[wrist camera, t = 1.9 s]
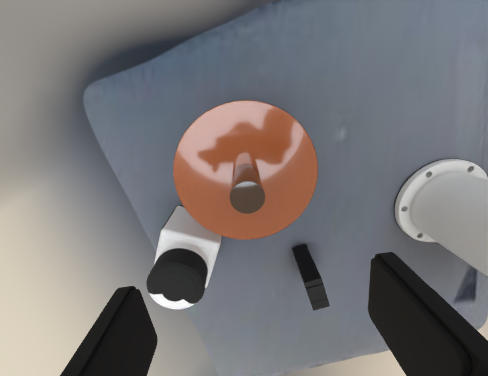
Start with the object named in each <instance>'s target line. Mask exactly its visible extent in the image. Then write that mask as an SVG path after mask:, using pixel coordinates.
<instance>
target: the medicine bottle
mask: <svg viewBox="0 0 488 376" xmlns="http://www.w3.org/2000/svg"><path fill="white" fill-rule="evenodd" d="M221 237H222V236H221V235H219V234H216V233H214V232H212V231H210V230H208V229H206V228H205V227H203V226H202V225H201V224H199V223H198V222H197V221H196V220H195V219H194V218H193V217H192V216H191V215H190V214H189V213H188V212H187V210H186V209H185V207H182V206H176V208H175V209H174V211H173V212H172V214H171V216H170V217H169V219H168V220H167V222H166V223H165V225H164V227H163V228H162V230H161V234H160V238H159V243H158V248H157V253H156V258H155V262H154V266H153V268H152V270H151V272H150V274H149V276H148V278H147V289H148V292H149V293H150V295H151V297H152V298H153V299H154V300H155V301H156V302H157V303H158V304H160V305H162V306H164V307H167V308H170V309H184V308H188V307H190V306H192V305H194V304H196V303H197V302H198V301H199V300H200V299H201V298H202V296H203V294H204V290H205V288H206V287H207V286H208V283H209V280H210V276H211V273H212V270H213V267H214V264H215V260H216V257H217V254H218V251H219V248H220V243H221Z"/></svg>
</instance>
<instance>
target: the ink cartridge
mask: <svg viewBox="0 0 488 376" xmlns="http://www.w3.org/2000/svg"><path fill="white" fill-rule="evenodd" d="M292 250H293V253H294V256H295V259H296V262H297V265H298V268H299V271H300V274H301V277H302V279H303V282H304V285H305V288H306V291H307V294H308V296H309V299H310V302H311V305H312V308H313V310H317V309H321V308H324V307H328V306H329V302H328V299H327V295H326V292H325V288H324V285H323V282H322V279H321V276H320V274H319V272H318V270H317V268H316V266H315V263H314V261H313V259H312V257H311V255H310V253H309V250H308V247H307V244H305V245H301V246H298V247H295V248H292Z"/></svg>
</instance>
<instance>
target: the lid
mask: <svg viewBox="0 0 488 376" xmlns="http://www.w3.org/2000/svg"><path fill="white" fill-rule="evenodd" d="M173 173H174V182H175V187H176V190H177V193H178V196H179V198H180V200H181V202H182V204H183V206H184V207H185V209H186V210H187V212H188V213H189V214H190V215H191V216H192V217H193V218H194V219H195V220H196V221H197V222H198V223H199V224H201V225H202V226H203V227H205V228H206V229H208V230H210V231H212V232H214V233H216V234H219V235H221V236H225V237H228V238H234V239H257V238H262V237H266V236H269V235H272V234H274V233H277V232H279V231H281V230H282V229H284V228H286V227H287V226H289V225H290V224H291V223H293V222H294V221H295V220H296V219H297V218H298V217H299V216H300V215H301V214H302V212H303V211H304V210H305V208H306V207H307V205H308V204H309V202H310V200H311V198H312V196H313V193H314V190H315V187H316V183H317V177H318V163H317V156H316V152H315V148H314V146H313V143H312V141H311V139H310V137H309V135H308V134H307V132H306V131H305V129H304V128H303V127H302V125H301V124H300V123H299V122H298V121H297V120H296V119H295V118H294V117H292V116H291V115H290V114H288V113H287V112H286V111H284V110H282V109H280V108H278V107H276V106H273V105H271V104H268V103H264V102H259V101H250V100H242V101H233V102H228V103H224V104H222V105H219V106H216V107H214V108H212V109H210V110H208V111H207V112H205V113H204V114H202V115H201V116H200V117H198V118H197V119H196V120H195V121H194V122H193V123H192V124H191V125H190V126H189V128H188V129H187V130H186V132H185V133H184V135H183V137H182V138H181V140H180V142H179V145H178V147H177V150H176V154H175V158H174V166H173Z"/></svg>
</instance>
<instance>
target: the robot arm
mask: <svg viewBox="0 0 488 376" xmlns="http://www.w3.org/2000/svg"><path fill="white" fill-rule="evenodd" d="M395 217H396V221H397V223H398V225H399V226H400V228H401V229H402V230H403V231H404V232H405V233H406V234H408V235H409V236H410V237H412V238H414V239H416V240H419V241H424V242H438V243H439V244H441V245H442V246H444V247H445V248H446V249H448V250H449V251H451V252H452V253H454V254H455V255H457V256H458V257H459V258H461V259H462V260H464V261H465V262H467V263H468V264H469V265H471V266H472V267H474V268H475V269H477V270H478V271H480V272H481V273H482V274H484V275H485V276H487V277H488V177H487V175H486V173H485V172H484V171H483V169H482V168H480V167H479V166H477V165H476V164H474V163H471V162H469V161H464V160H460V159H445V160H440V161H437V162H433V163H431V164H429V165H427V166H425V167H423V168H421V169H420V170H419V171H417V172H416V173H415V174H413V175H412V176H411V177H410V178H409V179H408V180H407V182H406V183H405V184H404V185H403V187H402V189H401V190H400V192H399V194H398V197H397V200H396V204H395ZM368 312H369V315H370V318H371V320H372V321H373V323H374V324H375V326H376V328H377V329H378V331H379V332H380V334H381V336H382V337H383V339H384V340H385V342H386V344H387V345H388V347H389V348H390V350H391V352H392V353H393V355H394V356H395V358H396V360H397V361H398V363H399V364H400V366H401V368H402V369H403V371H404V372H405V374H406V376H488V341H487V340H486V339H485V338H484V337H483V336H482V335H481V334H480V333H479V332H478V331H477V330H476V329H475V328H474V327H473V326H472V325H470V324H469V323H468V322H467V321H466V320H465V319H464V318H463V317H462V316H461V315H460V314H459V313H458V312H457V311H456V310H455V309H454V308H452V307H451V306H450V305H449V304H448V303H447V302H446V301H445V300H444V299H443V298H442V297H441V296H440V295H439V294H438V293H437V292H436V291H434V290H433V289H432V288H431V287H429V286H428V285H427V284H426V283H425V282H424V281H423V280H422V279H421V278H420V277H419V276H418V275H417V274H416V273H415V272H414V271H413V270H411V269H410V268H409V267H408V266H407V265H406V264H405V263H404V262H403V261H402V260H401V259H400V258H399V257H398V256H397V255H396V254H394V253H393V252H388V253H380V254H376V255H375V258H373V259H372V260H371V271H370V286H369V302H368ZM156 346H157V335H156V332H155V329H154V327H153V324H152V322H151V319H150V316H149V313H148V311H147V308H146V305H145V303H144V300H143V297H142V295H141V292H140V290H138V289H136V288H135V287H134V286H129V287H122V288H118V289H117V290H116V291H115V293H114V294H113V296H112V297H111V299H110V300H109V302H108V303H107V305H106V306H105V308H104V309H103V311H102V312H101V314H100V316H99V317H98V319H97V320H96V322H95V324H94V325H93V326H92V328H91V329H90V331H89V332H88V334H87V336H86V337H85V339H84V340H83V342H82V343H81V345H80V346H79V348H78V349H77V351H76V352H75V354H74V355H73V357H72V358H71V360H70V361H69V363H68V365H67V366H66V368H65V369H64V371H63V372H62V374H61V375H60V376H147V373H148V370H149V367H150V364H151V361H152V358H153V355H154V352H155V349H156Z"/></svg>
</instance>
